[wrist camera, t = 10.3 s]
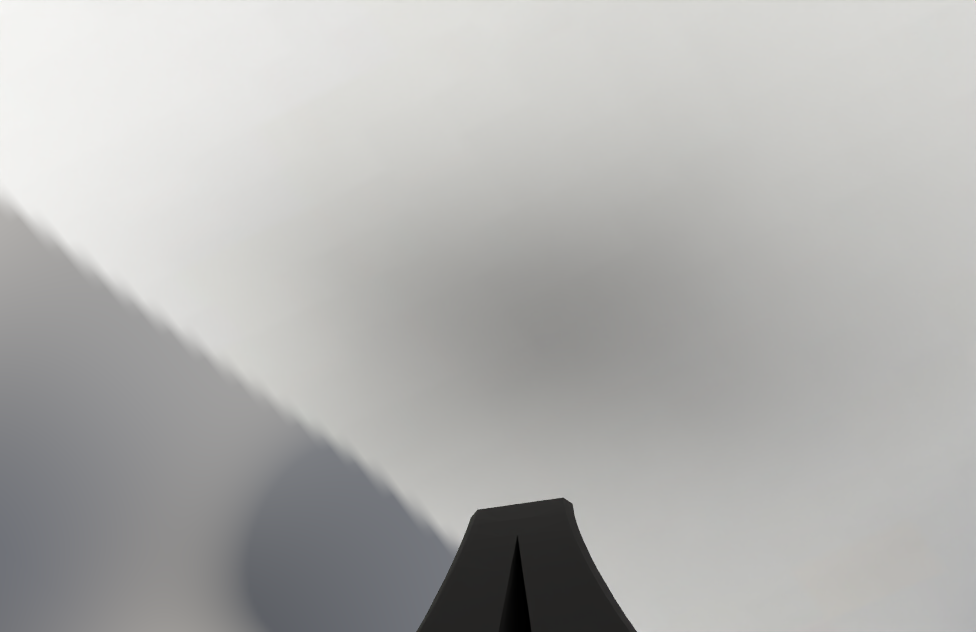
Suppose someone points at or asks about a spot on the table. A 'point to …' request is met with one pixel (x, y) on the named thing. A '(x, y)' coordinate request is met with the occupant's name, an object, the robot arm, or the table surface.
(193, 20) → the table surface
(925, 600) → the table surface
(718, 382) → the table surface
